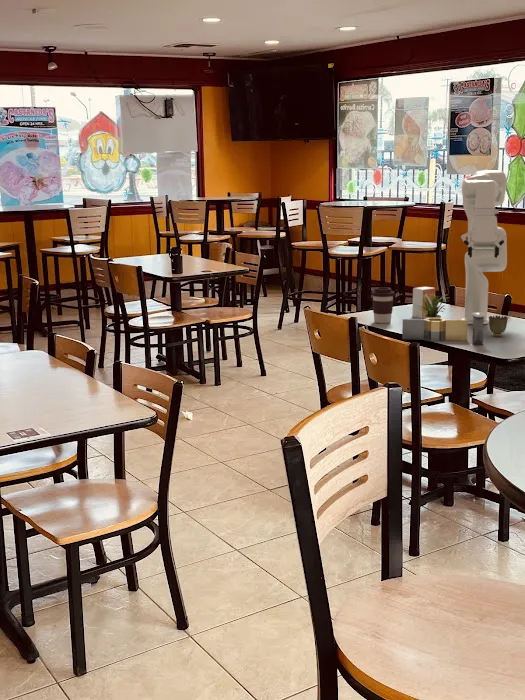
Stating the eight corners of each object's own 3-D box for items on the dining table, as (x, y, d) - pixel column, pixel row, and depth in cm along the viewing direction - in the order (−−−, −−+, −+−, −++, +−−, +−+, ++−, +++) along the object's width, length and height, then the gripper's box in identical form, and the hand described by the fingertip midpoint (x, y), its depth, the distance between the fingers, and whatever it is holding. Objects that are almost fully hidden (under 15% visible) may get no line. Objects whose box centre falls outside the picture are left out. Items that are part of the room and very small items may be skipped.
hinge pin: (470, 342, 337) (471, 312, 334) (483, 342, 336) (485, 312, 333) (471, 345, 332) (472, 314, 329) (485, 345, 331) (486, 314, 328)
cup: (507, 338, 343) (508, 318, 341) (488, 338, 344) (489, 318, 342) (506, 334, 350) (507, 315, 348) (487, 334, 351) (488, 315, 350)
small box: (422, 318, 387) (422, 289, 384) (411, 316, 392) (412, 288, 389) (434, 316, 392) (435, 287, 389) (424, 314, 397) (425, 286, 394)
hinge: (402, 336, 349) (402, 317, 347) (466, 338, 345) (467, 318, 343) (402, 341, 341) (402, 321, 339) (467, 342, 337) (468, 322, 336)
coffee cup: (369, 323, 377) (369, 289, 373) (373, 319, 386) (373, 286, 383) (392, 324, 374) (392, 290, 371) (395, 320, 383) (396, 286, 380)
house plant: (457, 329, 362) (459, 290, 358) (445, 335, 351) (446, 295, 347) (425, 326, 370) (426, 288, 366) (412, 331, 358) (413, 292, 355)
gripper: (506, 212, 339) (504, 256, 342) (461, 212, 341) (459, 256, 344) (509, 213, 331) (507, 258, 334) (462, 213, 334) (461, 257, 337)
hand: (483, 257), depth 339 cm, fingers open, 9 cm apart
